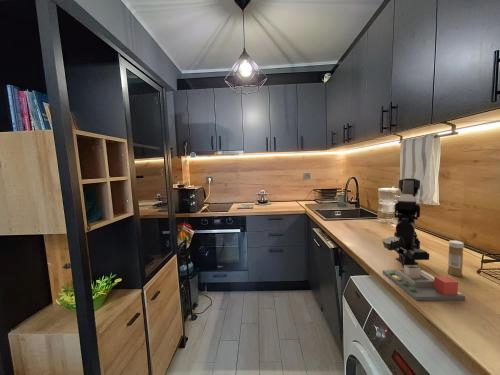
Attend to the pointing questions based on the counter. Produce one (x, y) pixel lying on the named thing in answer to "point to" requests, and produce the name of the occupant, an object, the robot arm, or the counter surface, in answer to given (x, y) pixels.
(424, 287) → the breaker panel
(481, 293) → the counter surface
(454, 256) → the sprinkles bottle
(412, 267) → the panel
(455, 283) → the cap
